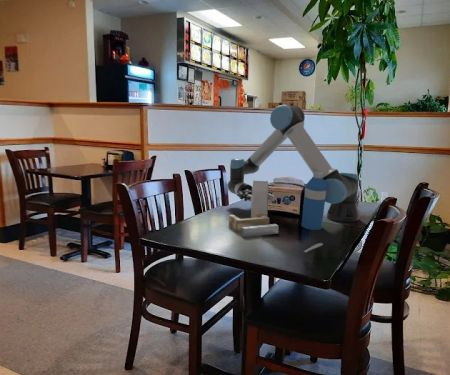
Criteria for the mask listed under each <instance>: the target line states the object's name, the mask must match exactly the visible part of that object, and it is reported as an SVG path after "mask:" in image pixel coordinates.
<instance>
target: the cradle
mask: <svg viewBox="0 0 450 375" xmlns="http://www.w3.org/2000/svg"><path fill="white" fill-rule="evenodd" d="M260 225H270V217H269V216H267V217H266V216H264V215H263V214H261V213H259V212H258V213H255V218H251V217H249V218H247V217H246V218H239V217H238V216H236V215H234V214H229V215H228V226H229V227H230V228H231V229H233V230H234V231H236V232H237V233H242V227H250V226H260Z"/></svg>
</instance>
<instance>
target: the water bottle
mask: <svg viewBox="0 0 450 375" xmlns="http://www.w3.org/2000/svg"><path fill="white" fill-rule="evenodd" d="M312 174H313V175H312V177H311V178H310V179H309V181H308V182H306V185H305V192H304V200H303V210H302V217H301V218H302V219H301V227H303V228H304V229H306V230H312V231H318V230H319V231H320V230H321V229H322V227H323V220H324V212H325V203H326V202H325V198H326V190H327V184H326V183H325V181H324V179H323V178H322V176H323V173H321V172H314V173H312Z"/></svg>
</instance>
